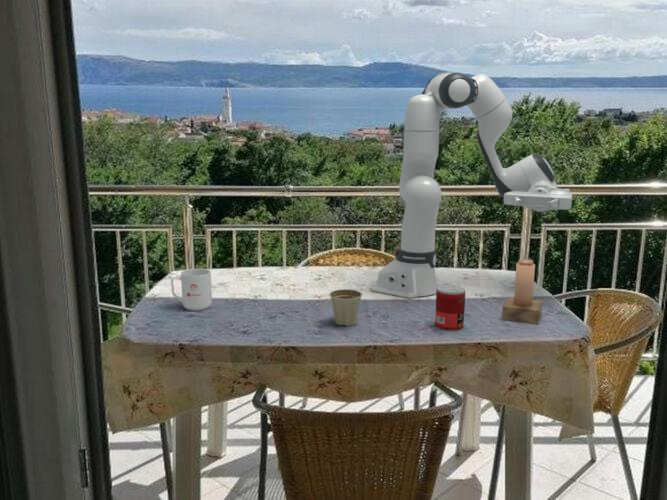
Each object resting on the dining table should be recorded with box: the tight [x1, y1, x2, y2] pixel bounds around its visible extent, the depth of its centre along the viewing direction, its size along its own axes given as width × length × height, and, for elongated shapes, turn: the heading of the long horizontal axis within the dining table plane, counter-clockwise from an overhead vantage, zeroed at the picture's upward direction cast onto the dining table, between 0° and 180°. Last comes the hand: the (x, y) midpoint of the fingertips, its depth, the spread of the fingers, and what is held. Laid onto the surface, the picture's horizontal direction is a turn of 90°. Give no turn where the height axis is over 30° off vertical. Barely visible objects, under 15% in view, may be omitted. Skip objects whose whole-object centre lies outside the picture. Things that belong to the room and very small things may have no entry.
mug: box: [170, 268, 213, 312], centre depth 198 cm, size 12×9×11 cm
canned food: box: [434, 284, 466, 331], centre depth 181 cm, size 8×8×11 cm
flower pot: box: [328, 288, 363, 327], centre depth 184 cm, size 9×9×9 cm
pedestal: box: [501, 296, 543, 325], centre depth 189 cm, size 10×10×4 cm
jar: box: [513, 258, 536, 306], centre depth 187 cm, size 5×5×13 cm
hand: (533, 203), depth 194 cm, fingers open, 8 cm apart
